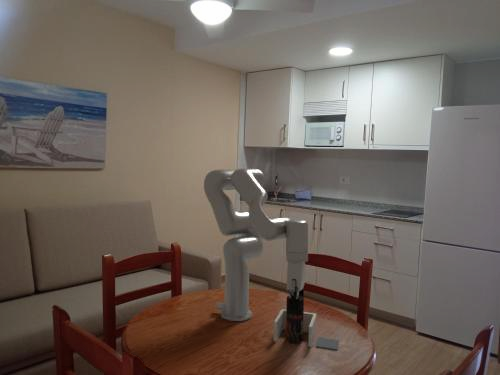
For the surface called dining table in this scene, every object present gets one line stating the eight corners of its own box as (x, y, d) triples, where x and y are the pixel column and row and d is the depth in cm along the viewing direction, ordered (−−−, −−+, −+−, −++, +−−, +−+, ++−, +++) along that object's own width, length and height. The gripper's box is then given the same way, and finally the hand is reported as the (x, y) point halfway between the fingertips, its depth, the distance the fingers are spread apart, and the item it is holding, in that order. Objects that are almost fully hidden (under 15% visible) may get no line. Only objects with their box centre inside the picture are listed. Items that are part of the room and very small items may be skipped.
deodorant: (302, 344, 133) (303, 301, 132) (284, 342, 134) (285, 299, 133) (303, 336, 139) (304, 295, 138) (286, 335, 140) (287, 294, 139)
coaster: (316, 347, 131) (316, 345, 131) (318, 338, 138) (318, 337, 138) (337, 350, 129) (337, 349, 129) (338, 341, 136) (338, 340, 136)
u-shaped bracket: (273, 341, 135) (274, 321, 135) (281, 327, 147) (281, 309, 146) (311, 347, 131) (311, 326, 131) (316, 332, 143) (316, 313, 142)
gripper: (291, 250, 144) (290, 296, 145) (280, 260, 127) (280, 312, 128) (311, 251, 142) (311, 298, 142) (303, 262, 125) (303, 314, 126)
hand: (296, 304), depth 135 cm, fingers open, 9 cm apart
